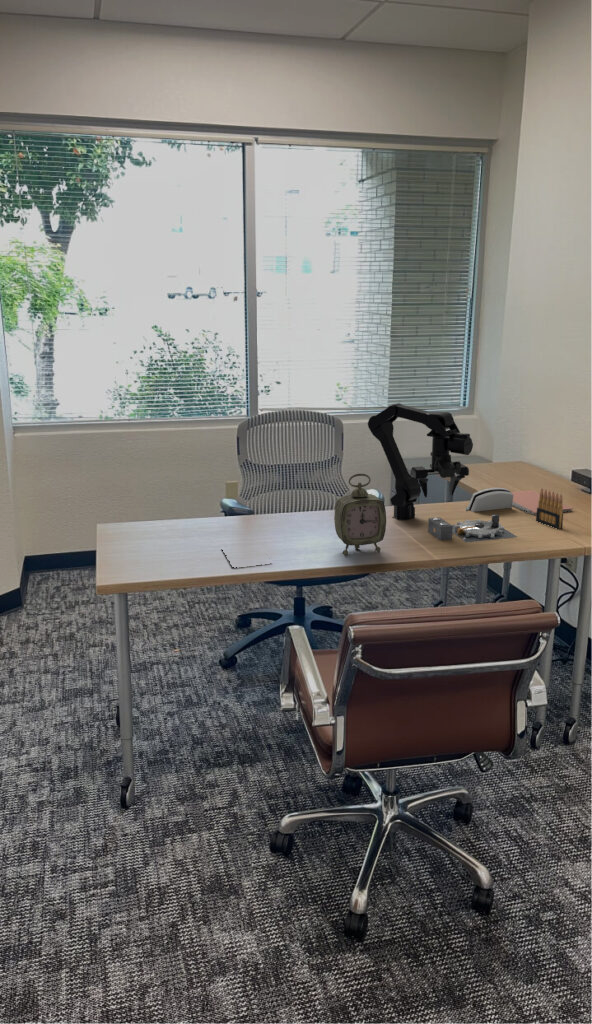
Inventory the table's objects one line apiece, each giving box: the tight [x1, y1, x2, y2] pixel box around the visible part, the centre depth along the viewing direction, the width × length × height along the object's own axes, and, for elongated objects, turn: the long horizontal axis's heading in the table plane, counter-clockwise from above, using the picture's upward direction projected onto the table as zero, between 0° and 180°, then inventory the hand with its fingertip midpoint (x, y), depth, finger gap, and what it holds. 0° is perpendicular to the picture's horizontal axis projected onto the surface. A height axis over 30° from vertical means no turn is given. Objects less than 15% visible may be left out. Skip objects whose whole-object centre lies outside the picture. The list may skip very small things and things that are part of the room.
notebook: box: [511, 489, 574, 516], centre depth 282 cm, size 27×17×2 cm, turn 16°
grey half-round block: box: [464, 487, 514, 513], centre depth 273 cm, size 17×5×10 cm, turn 107°
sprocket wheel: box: [454, 513, 505, 538], centre depth 248 cm, size 16×16×6 cm
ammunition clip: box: [535, 488, 564, 530], centre depth 255 cm, size 11×2×12 cm, turn 26°
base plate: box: [451, 524, 518, 543], centre depth 249 cm, size 18×18×1 cm
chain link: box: [427, 516, 453, 541], centre depth 245 cm, size 4×10×5 cm, turn 14°
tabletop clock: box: [333, 473, 387, 556], centre depth 233 cm, size 14×9×25 cm, turn 103°
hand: (438, 496), depth 254 cm, fingers open, 9 cm apart
